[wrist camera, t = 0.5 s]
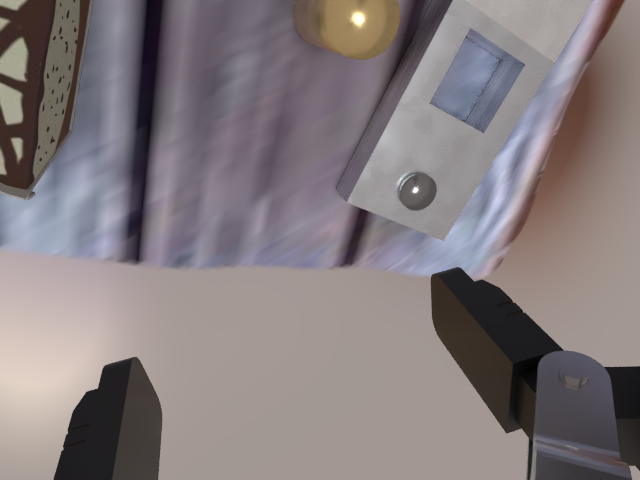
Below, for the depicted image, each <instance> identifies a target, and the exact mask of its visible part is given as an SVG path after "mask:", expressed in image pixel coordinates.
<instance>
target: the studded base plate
mask: <svg viewBox="0 0 640 480" xmlns="http://www.w3.org/2000/svg"><path fill="white" fill-rule="evenodd" d="M592 1H593V0H432V2H431V4H430V6H429V8H428V10H427V12H426V14H425V16H424V18H423V19H422V21H421V23H420V25H419V27H418V29H417V31H416V33H415V35H414V37H413V39H412V41H411V43H410V45H409V47H408V49H407V51H406V53H405V55H404V57H403V59H402V60H401V62H400V64H399V66H398V68H397V70H396V72H395V74H394V76H393V78H392V80H391V82H390V84H389V86H388V88H387V90H386V92H385V94H384V96H383V98H382V100H381V101H380V103H379V105H378V107H377V109H376V111H375V113H374V115H373V117H372V119H371V121H370V123H369V125H368V127H367V129H366V131H365V133H364V135H363V137H362V139H361V141H360V142H359V144H358V146H357V148H356V150H355V152H354V154H353V156H352V158H351V160H350V162H349V164H348V166H347V168H346V170H345V172H344V174H343V176H342V178H341V180H340V182H339V183H338V185H337V187H336V190H337V191H338V192H339V193H340V195H341V196H342V197H343V198H344V200H345V201H346V202H347V203H350V204H352V205H355V206H357V207H360V208H362V209H365V210H367V211H370V212H372V213H375V214H377V215H380V216H382V217H385V218H387V219H390V220H392V221H395V222H397V223H400V224H403V225H405V226H408V227H410V228H413V229H415V230H418V231H420V232H423V233H425V234H428V235H430V236H433V237H435V238H438V239H440V240H443V241H444V239H445V238H446V236H447V234H448V233H449V231H450V230H451V228H452V226H453V225H454V223H455V222H456V220H457V218H458V217H459V215H460V213H461V212H462V210H463V209H464V207H465V205H466V204H467V202H468V201H469V199H470V197H471V196H472V194H473V193H474V191H475V189H476V188H477V186H478V185H479V183H480V181H481V180H482V178H483V176H484V175H485V173H486V172H487V170H488V168H489V167H490V165H491V164H492V162H493V160H494V159H495V157H496V156H497V154H498V152H499V151H500V149H501V148H502V146H503V144H504V143H505V141H506V139H507V138H508V136H509V135H510V133H511V131H512V130H513V128H514V127H515V125H516V123H517V122H518V120H519V119H520V117H521V115H522V114H523V112H524V111H525V109H526V107H527V106H528V104H529V103H530V101H531V99H532V98H533V96H534V94H535V93H536V91H537V90H538V88H539V86H540V85H541V83H542V82H543V80H544V78H545V77H546V75H547V74H548V72H549V70H550V69H551V67H552V66H553V64H554V62H555V61H556V59H557V57H558V56H559V54H560V53H561V51H562V49H563V48H564V46H565V45H566V43H567V41H568V40H569V38H570V37H571V35H572V33H573V32H574V30H575V29H576V27H577V25H578V24H579V22H580V20H581V19H582V17H583V16H584V14H585V12H586V11H587V9H588V8H589V6H590V4H591V3H592ZM465 37H467V38H468V39H470V40H471V41H473V42H475V43H476V44H478V45H479V46H481V47H482V48H484V49H485V50H487V51H488V52H490V53H491V54H493V55H494V56H496V57H497V58H499V59H500V60H501V62H500V64H499V65H498V67H497V69H496V71H495V72H494V74H493V76H492V77H491V79H490V81H489V83H488V84H487V86H486V88H485V89H484V91H483V93H482V95H481V96H480V98H479V100H478V101H477V103H476V105H475V107H474V108H473V110H472V112H471V113H470V115H469V117H468V119H467V120H466V122H465V123H464V122H462V121H460V120H459V119H457V118H455V117H453V116H451V115H450V114H448V113H446V112H444V111H442V110H440V109H439V108H437V107H435V106H433V105H431V104H430V101H431V99H432V97H433V95H434V94H435V92H436V90H437V88H438V86H439V84H440V83H441V81H442V79H443V77H444V75H445V73H446V72H447V70H448V68H449V66H450V64H451V63H452V61H453V59H454V57H455V55H456V53H457V52H458V50H459V48H460V46H461V44H462V42H463V41H464V39H465Z"/></svg>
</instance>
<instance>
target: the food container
mask: <svg viewBox="0 0 640 480" xmlns="http://www.w3.org/2000/svg"><path fill="white" fill-rule="evenodd" d="M92 6H93V0H0V193H2V194H5V195H8V196H11V197H15V198H18V199H22V200H25V199H26V200H29V199H30V198H32V197H33V196H34V195H35V192H32V190H33V188H34V187H35V185H36V184H37V183H38V181H39V180H40V178H41V177H42V175H43V174H44V172H45V171H46V169H47V168H48V167H49V165H50V164H51V162H52V161H53V159H54V158H55V156H56V155H57V153H58V152H59V150H60V149H61V148H62V146H63V145H64V143H65V142H66V140H67V139H68V137H69V136H70V134H71V133H72V127H73V121H74V114H75V108H76V102H77V96H78V90H79V84H80V78H81V72H82V66H83V60H84V54H85V48H86V42H87V36H88V30H89V24H90V18H91V12H92Z"/></svg>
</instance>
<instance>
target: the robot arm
mask: <svg viewBox="0 0 640 480" xmlns="http://www.w3.org/2000/svg"><path fill="white" fill-rule="evenodd" d="M431 299H432V319H433V324H434V327H435V330H436V332H437V335H438V336H439V338H440V339H441V341H442V342H443V344H444V345H445V347H446V348H447V350H448V351H449V352H450V354H451V355H452V357H453V358H454V360H455V361H456V362H457V364H458V365H459V366H460V368H461V369H462V371H463V372H464V374H465V375H466V377H467V378H468V379H469V381H470V382H471V384H472V385H473V386H474V388H475V389H476V391H477V392H478V394H479V395H480V396H481V398H482V399H483V401H484V402H485V403H486V405H487V406H488V408H489V409H490V411H491V412H492V413H493V415H494V416H495V418H496V419H497V421H498V422H499V423H500V425H501V426H502V428H503V429H504V431H505V432H506V433H509V432H512V431H515V430H518V429H521V428H522V429H523V431H524V432H525V433H526V435H527V436H528V437H529V440H528V452H527V453H528V454H527V470H526V480H632V477H631V471H630V468H629V466H636V467H637V468H638V469H639V471H640V366H639V367H638V366H637V367H603V366H602V365H601V364H600V363H598V362H597V361H596V360H594V359H592V358H591V357H589V356H586V355H584V354H581V353H578V352H573V351H564V350H563V349H562V348H561V347H560V346H559V345H558V344H557V343H556V342H555V341H554V340H553V339H552V338H550V336H548V335H547V334H546V333H545V332H544V331H543V330H542V329H541V328H540V327H539V326H538V325H537V324H536V323H535V322H534V321H533V320H532V319H531V318H530V317H529V316H528V315H527V314H526V313H523V311H522V309H521V308H520V307H519V306H518V305H517V304H516V303H513V301H512V299H511V298H510V297H509V296H507V295H506V294H505V293H504V292H503V291H502V290H501V289H500V288H499V287H497V286H495V285H492V284H490V283H488V282H486V281H484V280H479V281H475V282H474V281H473V280H472V279H471V278H470V277H469V276H468V275H467V274H466V273H465V272H464V271H463V270H462V269H461V268H459V267H457V268H453V269H449V270H446V271H442V272H439V273H435V274H433V275H432V276H431ZM161 431H162V410H161V405H160V402H159V399H158V396H157V394H156V392H155V390H154V388H153V386H152V384H151V382H150V380H149V378H148V376H147V374H146V372H145V370H144V368H143V366H142V364H141V362H140V360H139V359H138V358H137V357H133V358H129V359H125V360H122V361H118V362H115V363H111V364H108V365H105V366H104V368H103V370H102V374H101V378H100V382H99V387H98V389H95V390H91V391H88V392H86V393H85V395H84V396H83V398H82V399H81V401H80V402H79V403H78V405H77V406H76V408H75V409H74V411H73V413H72V417H71V421H70V424H69V427H68V434H67V435H66V438H65V442H64V445H63V447H64V450H63V451H62V452H61V455H60V459H59V463H58V466H57V469H56V473H55V476H54V480H158V472H159V458H160V444H161Z"/></svg>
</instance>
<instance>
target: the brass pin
mask: <svg viewBox="0 0 640 480" xmlns="http://www.w3.org/2000/svg"><path fill="white" fill-rule="evenodd" d="M293 19H294V24H295V27H296V30H297V32H298V33H299V35H300V36H301V37H302V38H303V39H304V40H305V41H306V42H308V43H310V44H312V45H315V46H318V47H321V48H324V49H327V50H330V51H332V52H335V53H338V54H341V55H344V56H347V57H350V58H354V59H359V60H365V59H370V58H374V57H376V56H378V55H379V54H381V53H382V52H384V51H385V50H386V49H387V48H388V47H389V45H390V44H391V43H392V41H393V40H394V38H395V36H396V33H397V30H398V27H399V22H400V9H399V4H398V0H296V1H295V4H294V9H293Z"/></svg>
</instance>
